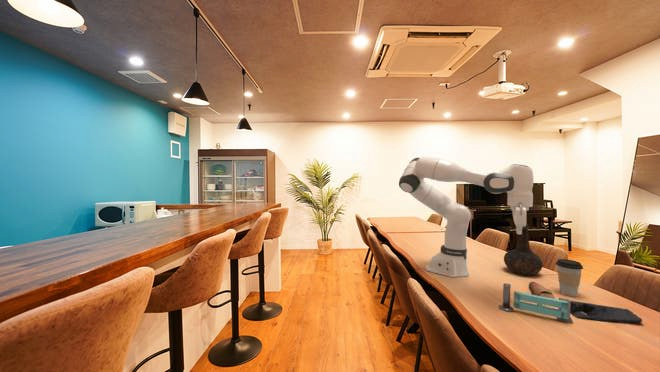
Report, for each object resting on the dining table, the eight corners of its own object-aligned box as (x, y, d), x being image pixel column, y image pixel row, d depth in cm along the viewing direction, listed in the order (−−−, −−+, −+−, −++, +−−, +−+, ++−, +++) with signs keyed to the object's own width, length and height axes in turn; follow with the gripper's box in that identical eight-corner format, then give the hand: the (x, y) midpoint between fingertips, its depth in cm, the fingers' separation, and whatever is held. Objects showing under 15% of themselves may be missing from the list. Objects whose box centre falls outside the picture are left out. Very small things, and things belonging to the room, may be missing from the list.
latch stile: (557, 319, 98) (557, 300, 97) (555, 315, 101) (556, 296, 100) (572, 323, 95) (573, 303, 95) (570, 319, 98) (571, 299, 98)
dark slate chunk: (651, 330, 92) (652, 317, 92) (573, 319, 99) (573, 306, 99) (620, 310, 106) (620, 298, 106) (554, 301, 114) (554, 290, 114)
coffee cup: (587, 299, 115) (589, 265, 115) (563, 297, 117) (564, 264, 116) (572, 290, 124) (573, 259, 124) (550, 288, 126) (550, 257, 126)
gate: (514, 307, 103) (514, 292, 103) (513, 305, 105) (514, 291, 105) (567, 319, 95) (568, 303, 95) (566, 317, 97) (566, 301, 96)
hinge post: (498, 309, 105) (499, 285, 105) (499, 304, 109) (499, 281, 109) (514, 313, 102) (514, 288, 102) (513, 308, 106) (514, 283, 106)
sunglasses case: (561, 306, 108) (551, 291, 109) (543, 311, 111) (533, 296, 112) (550, 290, 124) (541, 277, 125) (534, 295, 127) (525, 282, 128)
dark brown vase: (540, 271, 150) (541, 223, 150) (545, 281, 135) (546, 227, 135) (503, 265, 160) (504, 220, 159) (503, 274, 145) (505, 224, 144)
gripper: (531, 204, 102) (530, 239, 102) (527, 200, 119) (526, 231, 119) (511, 203, 105) (510, 237, 106) (510, 200, 122) (509, 229, 123)
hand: (519, 233), depth 113 cm, fingers closed
